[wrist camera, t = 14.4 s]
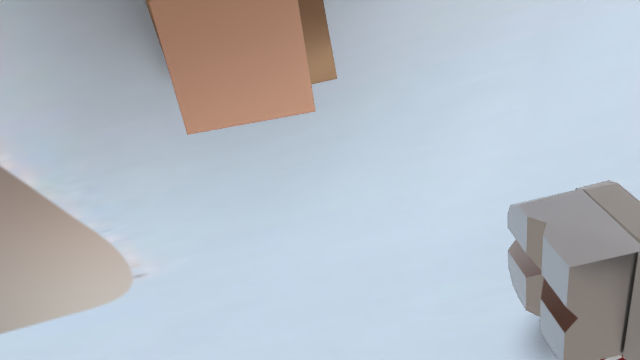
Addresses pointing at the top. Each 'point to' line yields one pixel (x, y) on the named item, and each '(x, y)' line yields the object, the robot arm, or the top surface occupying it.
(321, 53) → the walnut block
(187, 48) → the terracotta block
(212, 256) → the top surface
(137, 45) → the top surface
